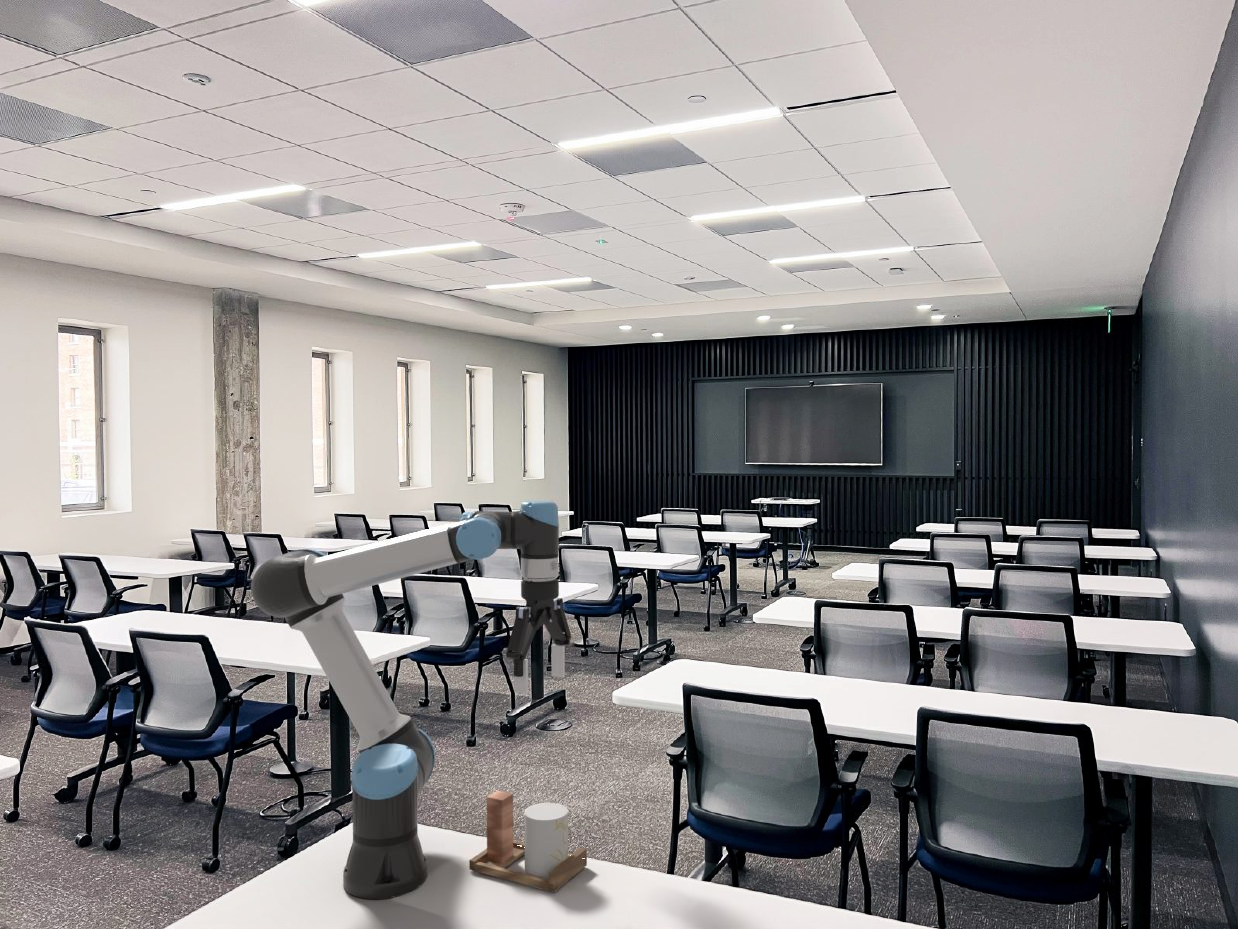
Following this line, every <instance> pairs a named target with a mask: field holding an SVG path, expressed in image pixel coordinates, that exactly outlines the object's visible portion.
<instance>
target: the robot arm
mask: <svg viewBox="0 0 1238 929" xmlns="http://www.w3.org/2000/svg"><path fill="white" fill-rule="evenodd" d="M558 508H559V507H558V505H557V503H555V502H554V501H550V500H531V501H529V500H527V501H523V502H522V503H521V504H520V508H519V510H516V511H485V510H484V511H482V510H476V511H475V510H474V511H464V512H463V513H462V514H461V515H460V519H459V521H454V522H452V523H448V524H444V525H439V526H436V527H431V528H429V529H424V530H420V531H417V532H412V533H408V534H405V535H401V536H398V537H393V538H390V539H386V540H381V541H378V542H374V543H371V544H370V543H369V544H367V545H363V546H359V547H355V548H351V549H347V550H344V551H339V552H335V553H332V554H329V555H326V554H325V553H323V552H322V551H319V550H316V549H312V548H311V549H310V548H300V549H299V548H298V549H293V550H292V551H289V552H287V553H283V554H281V555H279V556H275V557H271V558H269V559H268V560H266V561H264V562H263V563H262V564H261V565H260V566H259V567H258V568H257V569H256V571H255V572H254V575H253V577H252V578H251V582H250V584H251V585H250V592H251V597H252V598H253V601H254V602H253V603H255V605H256V607H258V608H259V610H261V611H262V612H263V613H265V614H267V615H269V616H271V617H276V618H284V619H285V621H286V623H287V624H288V627H289V628H290V629H291V630H295V631H299V632H300V633H302V634H303V636H304V638H305V640H306V641H307V644H308V646H309V647H310V648H311V650H312V652H313V654H314V656H315V658H316V659H317V661H318V663H319V665H320V666H321V669H322V670H323V672H324V674H325V676H326V677H327V680H328V681H329V683H330V685H331V686H332V689H333V691H334V692H335V694H336V696H337V697H338V700H339V701H340V703H341V705H342V707H343V709H344V710H345V712H346V713H347V715H348V717H349V720H350V721H351V723H352V725H353V727H354V728H355V730H356V732H357V733H358V736H359V740H358V745H357V751H358V752H359V755H358V756H357V757H356V758H355V760H354V762H353V765H352V772H351V786H352V792H351V793H352V843H351V846H350V850H349V854H348V856H347V859H346V864H345V866H344V869H343V871H342V872H343V874H342V876H343V880H342V881H343V882H342V886H343V889H344V890H345V892H347V893H348V894H350V895H351V896H354V897H357V898H361V899H366V900H367V899H369V900H381V899H382V900H383V899H390V898H394V897H396V898H397V897H398V896H403V895H406V894H409V893H411V892H412V891H414V890H415V891H416V890H417V889H419V887H421V886H422V885H423V884H424V883H425V882H426V881H427V879H428V860H427V858H426V856H425V854H424V852H423V847H422V845H421V841H420V838H419V834H418V833H419V831H418V823H419V822H418V800H419V799H418V798H419V797H420V794H421V793H422V791H423V789H424V787H425V785H426V783H427V782H428V781H429V780H430V778H431V776H432V774H433V770H434V768H435V763H436V750H435V746H434V743H433V741H432V740H431V738H430V736H429V735H428V734H427V733H426V732H425V731H423V730H421V729H420V728H417V727H416V725H415V723H414V721H413V720H412V717H411V716H410V715H407V714H402V713H400V712H399V710H398V708H397V707H396V704H395V703H394V701H393V700H392V698H391V696H390V694H389V692H388V690H387V689H386V687H385V685H384V683H383V681H382V679H381V677H380V676H379V674H378V672H377V670H376V668H375V667H374V665H373V663H372V661H371V660H370V657H369V656H368V654H367V653H366V651H365V649H364V647H363V645H362V643H361V642H360V640H359V638H358V636H357V634H356V633H355V630H354V628H352V625H351V623H350V621H349V619H348V617H347V616H346V614H345V613H344V611H343V607H344V605H345V604H344V603H345V601H346V598H345V596H344V594H345V593H350V592H354V591H358V590H360V589H364V588H369V587H372V586H375V585H380V584H383V583H388V582H391V581H396V580H398V579H399V580H400V579H403V578H407V577H410V576H414V575H418V574H422V573H425V572H426V573H427V572H430V571H433V570H437V569H441V568H444V567H448V566H452V565H456V564H461V563H464V562H468V561H472V560H477V561H479V560H483V559H487V558H489V557H491V556H492V555H494V554H495V553H496V551H498V550H518V549H519V550H520V552H521V553H520V577H521V578H523V579H522V580H521V581H520V596H521V598H522V599H523V600H525V602H526V604H525V607H523V606H522V607H521V606H516V608H515V618H514V623H513V627H512V629H511V634H510V638H509V641H508V646H507V649H506V653H505V655H506V656H505V657H506V658H507V659H510V660H513V677H514V678H513V681H514V683H513V684H514V685H513V686H514V687H513V690H514V691H513V692H514V693H518V694H525V695H527V694H528V693H529V659H528V658H526V656H527V655H528V652H529V650H530V647H531V645H532V642H533V639H534V636H535V635H536V632H537V631H538V630H539V629H540V627H543V626H545V628H546V630H547V632H548V634H549V636H550V638H551V640H552V642H553V644H551V677H555V678H565V677H566V676H565V675H566V674H565V672H566V669H565V668H566V667H565V661H566V660H565V659H566V658H565V657H566V656H565V655H566V654H565V652H566V651H565V650H566V647H565V646H569V645H570V643H571V639H572V635H571V630H570V626H569V624H568V623H569V622H568V620H567V616H566V613H565V610H564V599H563V598H561V597H559V596H560V592H559V591H560V586H559V585H560V584H559V582H560V581H559V580H558V579H557V578H558V577H559V567H560V564H559V546H560V545H559V540H560V523H559V509H558Z"/></svg>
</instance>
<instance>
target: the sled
mask: <svg viewBox="0 0 1238 929" xmlns="http://www.w3.org/2000/svg"><path fill="white" fill-rule="evenodd" d="M517 845H522V847H520V846H517ZM524 847H525V842H523V841H518V840H515V839H514V794H513V793H511V792H506V791H502V790H497V791H495V792H493V793H491V794H490V795H488V796H487V797H486V849H484V850H483V851H481V852H479V853H478V854H477V855H475V856H474V857H472V858H471V859H469V861H468V862H469V865H468V866H469V871H472V872H473V871H474V872H476V873H481V874H484V875H488V876H491V877H495V878H499V879H502V880H507V881H511V882H515V883H518V884H521V885H525V886H529V887H532V888H536V889H540V890H545V891H548V892H551V893H555V892H556V891H557V890H559V889H560V888H561V887H562V886H564V885H565V884H566V883H567V882H568V881H569V880H571V879H572V878H574V876H576V875H577V874H578V873H579V872H581V871H582V870H583V869H584V868H586V866H587V865H588V861H587V860H588V855H587V854H588V850H587V849H588V848H585V847H582V846H581V847H580V848H579V849H577V850H576V851H574V853H568V858H567V859H566V860H565V861H563V862H562V863H561V864H559V865H558V866H557V867H556V868H554V869H553V870H552V871H550V872H549V873H548V880H547V879H543V878H539V877H535V876H531V875H528V874H525V872H524V873H523V872H519V871H516V870H511V869H509V868H506V867H508V866H510V865H511V864H513V862H515V861H516V860H518V859H519V858H521V857H522V856H523V855H525V848H524ZM570 855H571V856H570ZM582 858H585V859H582Z"/></svg>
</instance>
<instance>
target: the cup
mask: <svg viewBox="0 0 1238 929" xmlns="http://www.w3.org/2000/svg"><path fill="white" fill-rule="evenodd" d="M523 814H524V817H523V818H524V821H523V822H524V829H523V830H524V843H525V854H524V874H528V875H531V876H535V877H539V878H543V879H547V880H548V873H549V872H550V871H552V870H553V869H554V868H556V867H557V866H558V865H559V864H561V863H562V862H563V861H565V860H566V859H567V858H568V854H569V810H568V807H566V806H565V805H564V804H560V803H558V802H557V803H556V802H539V803H535V804H531V805H529V806H527V807H526V808H525V810H524V812H523Z"/></svg>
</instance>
